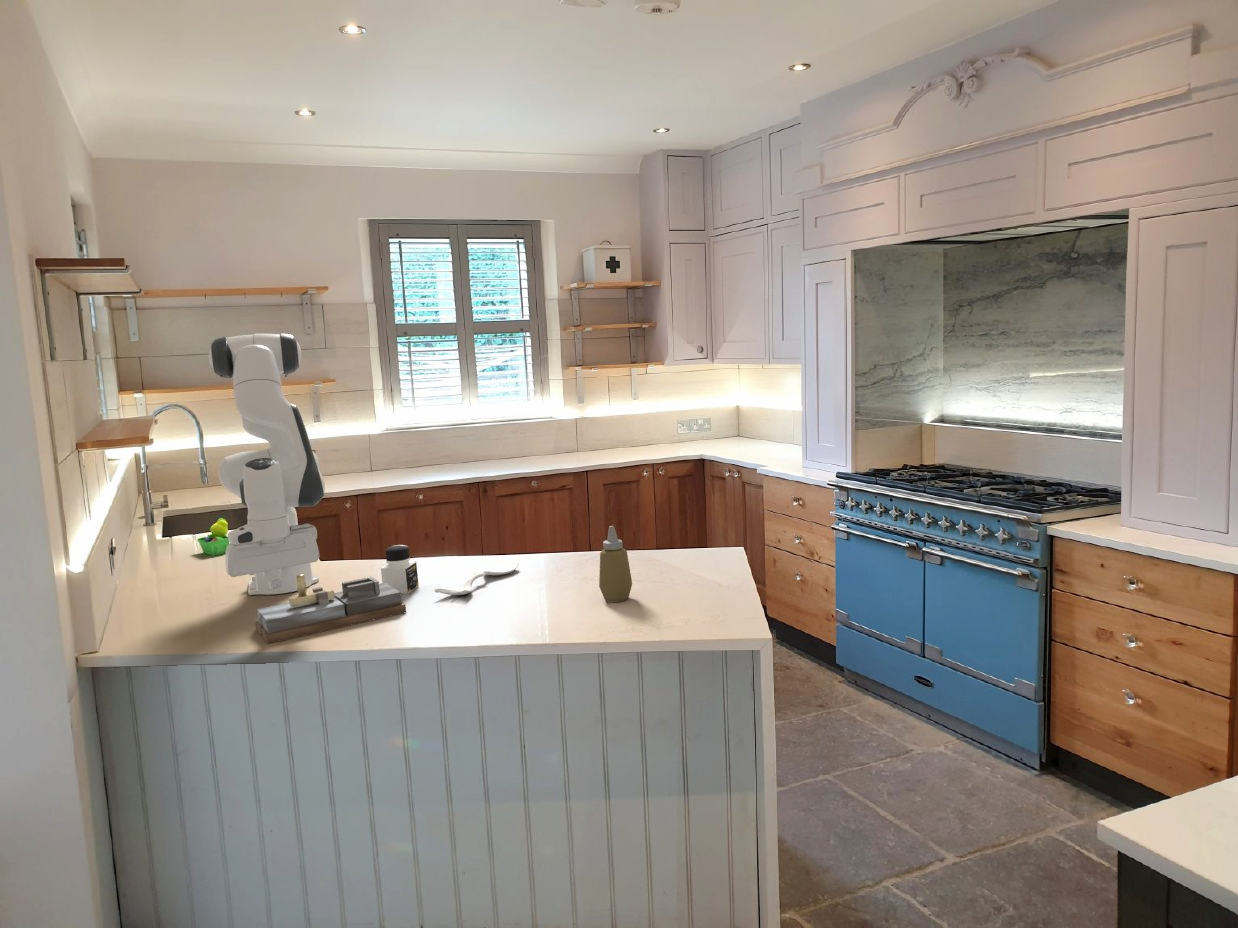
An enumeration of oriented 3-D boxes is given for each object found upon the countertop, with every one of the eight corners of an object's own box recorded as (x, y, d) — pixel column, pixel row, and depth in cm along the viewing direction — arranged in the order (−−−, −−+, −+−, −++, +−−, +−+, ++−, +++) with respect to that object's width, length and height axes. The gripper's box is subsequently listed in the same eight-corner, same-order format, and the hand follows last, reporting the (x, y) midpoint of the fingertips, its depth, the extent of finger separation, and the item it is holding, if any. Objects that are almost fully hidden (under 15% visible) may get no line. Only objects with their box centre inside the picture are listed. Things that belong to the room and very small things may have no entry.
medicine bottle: (408, 594, 234) (403, 549, 233) (383, 594, 235) (378, 550, 234) (419, 586, 241) (414, 542, 239) (394, 586, 242) (389, 543, 241)
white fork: (434, 601, 227) (433, 588, 226) (496, 568, 256) (495, 556, 255) (464, 603, 223) (463, 589, 223) (524, 569, 253) (523, 557, 252)
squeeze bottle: (611, 606, 211) (606, 531, 209) (593, 599, 218) (588, 526, 215) (639, 599, 215) (634, 525, 213) (621, 592, 222) (617, 521, 220)
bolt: (289, 605, 210) (286, 576, 209) (332, 596, 216) (329, 568, 215) (291, 607, 209) (288, 578, 208) (334, 598, 214) (331, 570, 213)
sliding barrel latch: (256, 628, 212) (252, 596, 211) (387, 600, 229) (384, 570, 228) (268, 643, 201) (264, 609, 200) (406, 612, 218) (402, 580, 216)
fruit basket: (198, 553, 305) (193, 520, 303) (224, 547, 311) (220, 515, 309) (209, 557, 296) (205, 524, 295) (236, 551, 302) (232, 519, 301)
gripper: (312, 520, 214) (318, 576, 216) (220, 534, 203) (228, 593, 205) (319, 523, 208) (325, 581, 210) (224, 539, 198) (232, 599, 200)
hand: (276, 587), depth 207 cm, fingers closed
